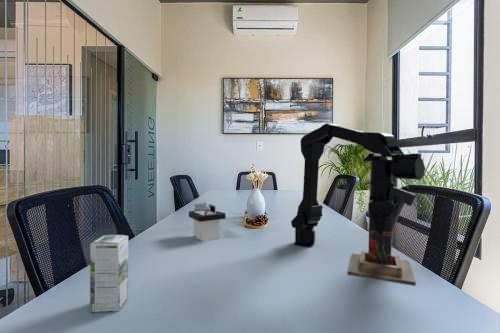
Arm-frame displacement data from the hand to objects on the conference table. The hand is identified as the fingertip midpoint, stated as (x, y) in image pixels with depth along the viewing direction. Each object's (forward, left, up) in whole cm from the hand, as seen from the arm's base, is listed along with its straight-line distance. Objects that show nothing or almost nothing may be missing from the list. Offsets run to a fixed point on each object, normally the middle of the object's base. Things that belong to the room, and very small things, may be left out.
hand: (380, 232), depth 81 cm
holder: (0, 0, -10) cm, 10 cm away
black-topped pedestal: (-62, +6, -11) cm, 64 cm away
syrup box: (-53, -46, -11) cm, 71 cm away
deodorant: (0, 0, -9) cm, 9 cm away
